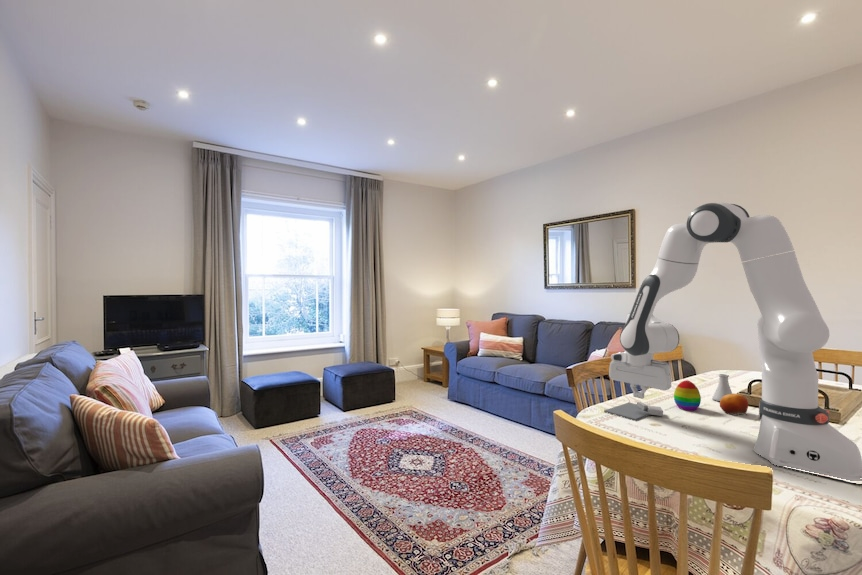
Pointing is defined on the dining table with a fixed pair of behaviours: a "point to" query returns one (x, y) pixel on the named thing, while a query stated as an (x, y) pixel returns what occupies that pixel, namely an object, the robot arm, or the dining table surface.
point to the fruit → (734, 404)
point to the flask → (722, 387)
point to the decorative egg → (687, 396)
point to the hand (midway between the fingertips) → (638, 397)
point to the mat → (628, 411)
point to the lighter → (650, 409)
